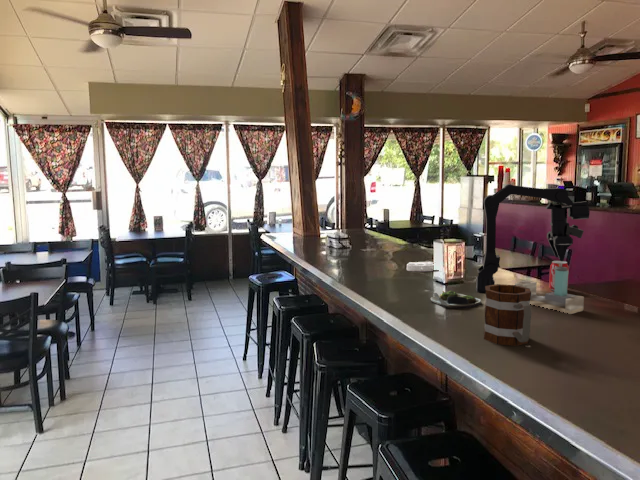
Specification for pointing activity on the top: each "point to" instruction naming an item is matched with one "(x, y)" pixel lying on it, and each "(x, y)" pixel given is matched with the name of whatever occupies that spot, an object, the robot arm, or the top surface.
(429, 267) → the white rectangular slab
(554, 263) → the soda can
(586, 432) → the top surface
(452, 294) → the salad plate
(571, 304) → the rail track
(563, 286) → the carriage
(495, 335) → the mug
